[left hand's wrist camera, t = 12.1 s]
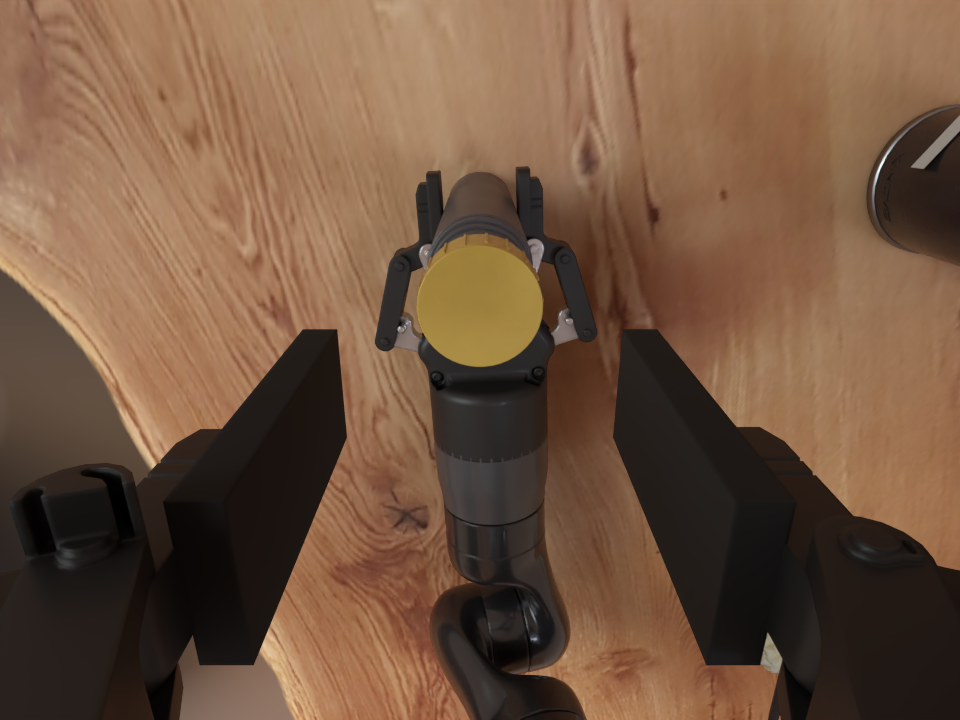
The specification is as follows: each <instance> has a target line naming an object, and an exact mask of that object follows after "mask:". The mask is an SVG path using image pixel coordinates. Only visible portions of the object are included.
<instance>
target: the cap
mask: <svg viewBox="0 0 960 720" xmlns="http://www.w3.org/2000/svg"><path fill="white" fill-rule="evenodd" d="M538 281H540V280H539V277H538V274H537V271H536V269H535V268H533V266H532V264H531V263H530V261H529V259H528V258H527V257H526V254H525V252H524V251H521V250H520V249H519V248H518V247H516V246H515V245H514V244H512V243H511V242H509V241H508V239H507V238H506V239H503V238H500V237H497V236H493V235H488V233H485V234H472V235H467V236H466V234H464V236H463V237H460V238H457V239H455V240H453V241H451V242H449V243H448V244H447V243H445V244H444V247H442V248H441V249H440V250H439V251H438V252H437V253H436V254H435V255H434V257H433V258H432V257H431V258H430V260H429V263H428V266H427V269H426V271H425V274H424V276H422V277H421V280H420V283H419V286H418V289H419V292H418V297H417V308H416V310H417V315H418V320H419V324H420V327H421V329H422V331H423V333H424V335H425V337H426V338H427V340H428V341H429V343H430V344H431V345H432V346H433V347H434V348H435V349H436V350H437V351H438V352H439V353H440V354H442V355H443V356H445V357H446V358H448V359H450V360H452V361H454V362H457V363H459V364H463V365H467V366H474V367H486V366H493V365H497V364H501V363H503V362H506V361H508V360H510V359H512V358H514V357H515V356H517V355H518V354H520V353H521V352H522V351H523V350H524V349H525V348H526V347H527V346H528V345H529V344H530V343H531V341H532V340H533V338H534V337H535V335H536V333H537V331H538V329H539V327H540V324H541V320H542V315H543V302H544V298H543V295H542V292H541V288H540V285H539V282H538Z"/></svg>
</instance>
